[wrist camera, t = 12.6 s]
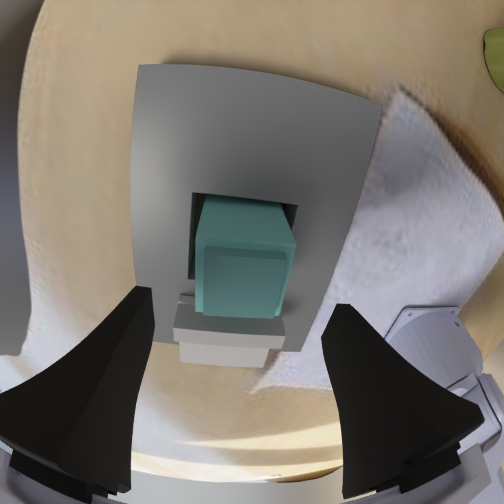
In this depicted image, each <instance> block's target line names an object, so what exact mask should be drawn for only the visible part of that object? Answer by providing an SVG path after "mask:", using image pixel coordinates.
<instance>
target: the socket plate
mask: <svg viewBox="0 0 504 504" xmlns="http://www.w3.org/2000/svg"><path fill="white" fill-rule="evenodd" d="M382 108H383V105H381V104H378V103H376V102H373V101H370V100H368V99H365V98H362V97H359V96H356V95H353V94H350V93H347V92H344V91H341V90H337V89H334V88H330V87H327V86H323V85H320V84H316V83H312V82H308V81H304V80H300V79H295V78H291V77H286V76H281V75H276V74H270V73H264V72H258V71H252V70H245V69H237V68H228V67H218V66H206V65H186V64H147V65H139V67H138V74H137V81H136V89H135V98H134V108H133V120H132V135H131V159H130V204H131V228H132V244H133V256H134V267H135V276H136V285H137V286H143V287H151V288H152V299H153V309H154V318H155V330H154V336H153V341H156V342H163V343H171V344H179V342H177V341H174V333H173V326H174V321H175V316H176V311H177V306H178V299H179V295H184V296H194V297H195V258H194V257H192V255H193V237H194V221H195V208H196V195H197V193H207V194H216V195H225V196H234V197H243V198H251V199H259V200H266V201H274V202H281V203H287V204H286V208H285V212H284V215H285V217H286V220H287V222H288V225H289V227H290V229H291V232H292V234H293V237H294V239H295V242H296V249H295V253H294V257H293V261H292V266H291V270H290V274H289V278H288V282H287V286H286V290H285V294H284V298H283V302H282V306H281V308H282V311H281V314H282V319H283V324H284V329H285V334H286V337H285V340H284V343H283V345H282V348H281V349H269V351H284V352H300V351H301V349H302V347H303V345H304V342H305V340H306V338H307V336H308V333H309V331H310V329H311V327H312V324H313V322H314V320H315V317H316V315H317V313H318V310H319V308H320V305H321V303H322V300H323V298H324V296H325V293H326V291H327V288H328V285H329V283H330V280H331V278H332V275H333V273H334V270H335V267H336V265H337V262H338V259H339V256H340V254H341V251H342V248H343V245H344V242H345V239H346V237H347V234H348V231H349V228H350V225H351V222H352V219H353V216H354V212H355V209H356V206H357V203H358V200H359V196H360V193H361V190H362V186H363V183H364V180H365V176H366V173H367V169H368V165H369V162H370V158H371V154H372V150H373V146H374V142H375V138H376V134H377V130H378V126H379V121H380V117H381V112H382ZM179 345H180V344H179Z"/></svg>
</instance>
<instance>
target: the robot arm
mask: <svg viewBox="0 0 504 504" xmlns="http://www.w3.org/2000/svg"><path fill="white" fill-rule="evenodd" d="M459 312H460V308H459V307H440V308H406V309H404V310H403V311H402V312H401V314H400V315H399V317H398V319H397V320H396V322H395V323H394V325H393V327H392V328H391V330H390V331H389V333H388V334H387V336H386V337H385V339H384V338H383V337H382V336H381V335H380V334H379V333H378V332H377V331H376V330H375V329H374V328H373V327H372V326H371V325H370V324H369V323H368V322H367V321H366V320H365V318H364V317H363V316H362V315H361V314H360V313H359V312H358V311H357V310H356V309H355V308H354V307H353V306H351V305H350V304H336V306H335V309H334V311H333V313H332V315H331V317H330V320H329V322H328V324H327V326H326V328H325V330H324V332H323V334H322V336H321V341H322V349H323V355H324V360H325V364H326V367H327V371H328V374H329V378H330V381H331V385H332V388H333V392H334V395H335V399H336V402H337V407H338V411H339V418H340V425H341V434H342V445H343V487H342V493H343V498H344V499H348V498H352V497H356V496H359V495H363V494H366V493H369V492H372V491H375V490H376V494H373V495H370V496H366V497H363V498H360V499H357V500H353V501H349V502H345V503H341V504H504V472H503V470H502V467H501V465H502V463H503V461H504V395H503V393H502V392H501V390H500V388H499V386H498V384H497V383H496V381H495V379H494V378H493V376H492V375H491V374H485V373H482V370H483V358H482V354H481V351H480V349H479V348H478V346H477V344H476V343H475V341H474V340H473V338H472V337H471V335H470V334H469V332H468V331H467V330H466V328H465V327H464V325H463V324H462V322H461V321H460V320H459V318H458V317H457V315H458V314H459ZM154 330H155V318H154V309H153V299H152V288H151V287H143V286H135V287H134V288H133V289H132V290H131V291H130V292H129V293H128V295H127V296H126V297H125V298H124V299H123V300H122V301H121V302H120V303H119V304H118V305H117V307H116V308H115V309H114V310H113V311H112V312H111V313H110V314H109V315H108V316H107V317H106V318H105V319H104V320H103V321H102V322H101V323H100V324H99V325H98V326H97V327H96V328H95V329H94V330H93V331H92V332H91V333H90V334H89V335H88V336H87V337H86V338H85V339H84V340H82V341H81V342H80V343H79V344H78V345H77V346H76V347H74V348H73V349H72V350H71V351H70V352H68V353H67V354H66V355H65V356H63V357H62V358H60V359H59V360H58V361H56V362H55V363H54V364H52V365H51V366H49V367H48V368H47V369H45V370H44V371H42V372H40V373H39V374H37V375H35V376H34V377H32V378H31V379H29V380H27V381H25V382H23V383H22V384H20V385H18V386H16V387H13V388H11V389H9V390H7V391H5V392H3V393H1V394H0V440H1V441H2V442H3V443H5V444H6V445H8V446H9V447H10V448H12V449H13V452H12V455H11V454H9V453H8V452H6V451H5V450H3V449H1V448H0V504H126V503H122V502H118V501H114V500H111V499H108V494H111V495H115V496H116V495H117V492H120V493H126V492H128V491H129V490H131V446H132V434H133V423H134V415H135V408H136V402H137V397H138V393H139V389H140V386H141V382H142V378H143V375H144V371H145V368H146V365H147V361H148V358H149V354H150V351H151V347H152V341H153V336H154Z"/></svg>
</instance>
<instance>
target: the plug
mask: <svg viewBox="0 0 504 504" xmlns="http://www.w3.org/2000/svg"><path fill="white" fill-rule="evenodd" d="M295 249H296V242H295V239H294V237H293V234H292V232H291V229H290V227H289V225H288V222H287V220H286V217H285V215H284V212H283V210H282V208H281V205H280V203H279V202H274V201H266V200H259V199H251V198H243V197H234V196H225V195H216V194H206V198H205V202H204V205H203V209H202V213H201V217H200V221H199V225H198V229H197V233H196V240H195V312H203V315H208V316H223V317H242V318H269V319H274V316H279V314H280V310H281V306H282V302H283V298H284V294H285V290H286V286H287V282H288V278H289V274H290V270H291V266H292V261H293V257H294V253H295Z"/></svg>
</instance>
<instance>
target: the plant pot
mask: <svg viewBox="0 0 504 504" xmlns="http://www.w3.org/2000/svg"><path fill="white" fill-rule="evenodd" d="M484 41H485V52H484V56H485V60H486V64H487V67H488V70H489V72H490V75H491V77H492V79H493V81H494V83H495V84H496V86H497V87H498V88H499V89H501V90H502V91H503V92H504V28H498V29H491V30H488V31H487V32H486V34H485V36H484Z"/></svg>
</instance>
